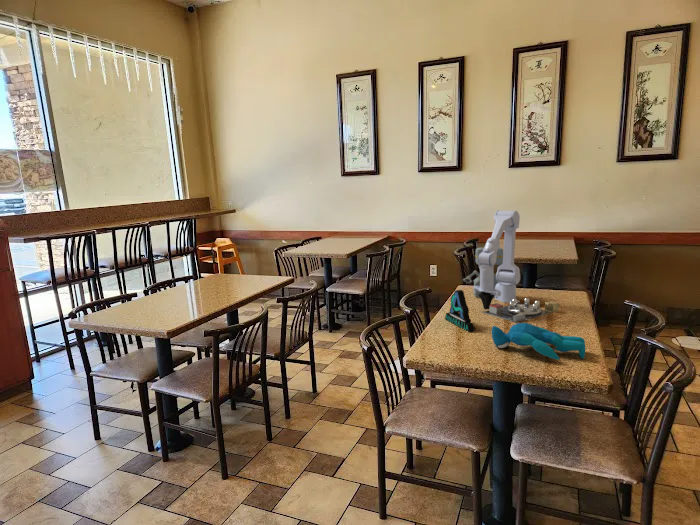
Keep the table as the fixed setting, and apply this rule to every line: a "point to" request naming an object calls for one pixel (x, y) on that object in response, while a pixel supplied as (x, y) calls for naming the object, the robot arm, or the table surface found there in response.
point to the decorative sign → (463, 316)
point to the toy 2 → (538, 340)
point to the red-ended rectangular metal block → (496, 309)
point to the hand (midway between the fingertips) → (486, 308)
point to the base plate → (514, 317)
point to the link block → (552, 306)
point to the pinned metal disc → (525, 308)
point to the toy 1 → (477, 281)
